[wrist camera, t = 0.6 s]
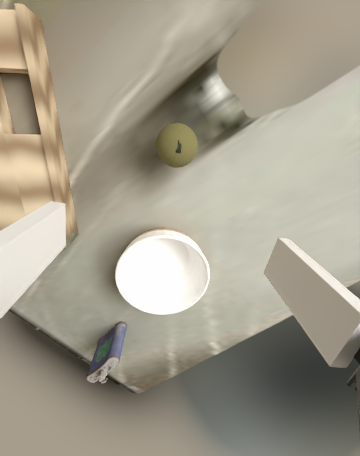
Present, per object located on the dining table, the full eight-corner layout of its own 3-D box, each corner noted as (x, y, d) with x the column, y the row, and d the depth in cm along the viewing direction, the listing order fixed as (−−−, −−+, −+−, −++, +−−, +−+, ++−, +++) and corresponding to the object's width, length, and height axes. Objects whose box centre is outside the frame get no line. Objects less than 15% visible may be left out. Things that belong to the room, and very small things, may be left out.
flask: (121, 319, 50) (109, 365, 40) (130, 325, 51) (122, 371, 41) (96, 341, 52) (79, 389, 42) (106, 347, 53) (92, 395, 43)
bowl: (112, 272, 45) (101, 299, 37) (141, 204, 40) (135, 220, 32) (181, 296, 48) (184, 325, 41) (216, 237, 43) (227, 257, 36)
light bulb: (195, 155, 37) (205, 161, 28) (164, 166, 37) (164, 176, 28) (185, 120, 35) (193, 114, 25) (152, 132, 35) (148, 130, 26)
